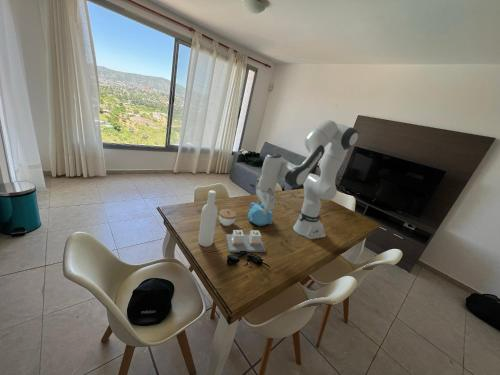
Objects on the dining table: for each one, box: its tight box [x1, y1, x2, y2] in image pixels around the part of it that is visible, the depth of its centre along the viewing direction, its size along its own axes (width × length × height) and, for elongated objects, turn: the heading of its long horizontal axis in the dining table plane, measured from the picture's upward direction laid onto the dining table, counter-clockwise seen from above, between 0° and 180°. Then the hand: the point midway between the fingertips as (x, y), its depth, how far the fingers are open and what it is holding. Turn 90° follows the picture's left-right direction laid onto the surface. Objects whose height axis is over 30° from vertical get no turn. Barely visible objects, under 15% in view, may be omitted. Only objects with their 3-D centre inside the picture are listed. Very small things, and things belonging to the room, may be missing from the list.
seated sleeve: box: [231, 229, 244, 245], centre depth 113 cm, size 6×6×6 cm
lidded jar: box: [218, 208, 237, 227], centre depth 129 cm, size 11×11×9 cm
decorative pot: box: [247, 202, 274, 227], centre depth 139 cm, size 16×16×14 cm
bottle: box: [197, 189, 219, 248], centre depth 105 cm, size 8×8×30 cm
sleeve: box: [248, 229, 262, 245], centre depth 116 cm, size 6×6×6 cm
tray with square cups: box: [225, 230, 266, 253], centre depth 114 cm, size 20×14×8 cm
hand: (261, 208), depth 109 cm, fingers open, 8 cm apart
